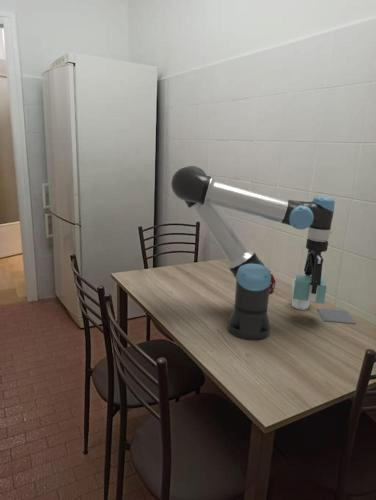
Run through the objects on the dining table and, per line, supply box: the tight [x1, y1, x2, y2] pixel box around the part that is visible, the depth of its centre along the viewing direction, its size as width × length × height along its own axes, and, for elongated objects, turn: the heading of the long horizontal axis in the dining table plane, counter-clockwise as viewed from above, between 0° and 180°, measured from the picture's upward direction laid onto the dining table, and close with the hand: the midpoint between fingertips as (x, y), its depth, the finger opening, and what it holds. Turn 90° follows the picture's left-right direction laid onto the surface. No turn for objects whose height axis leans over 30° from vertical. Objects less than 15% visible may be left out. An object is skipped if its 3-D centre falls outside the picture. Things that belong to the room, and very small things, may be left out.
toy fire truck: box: [269, 270, 277, 295], centre depth 170 cm, size 7×12×10 cm, turn 96°
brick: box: [293, 273, 328, 305], centre depth 138 cm, size 9×11×7 cm
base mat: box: [316, 307, 357, 325], centre depth 147 cm, size 12×12×1 cm
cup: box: [291, 276, 311, 310], centre depth 154 cm, size 9×9×12 cm
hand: (308, 295), depth 139 cm, fingers closed on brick, 10 cm apart
